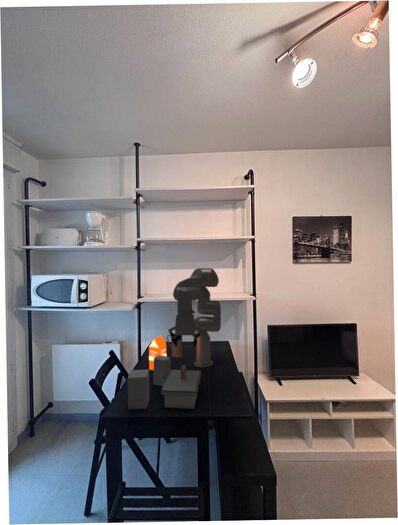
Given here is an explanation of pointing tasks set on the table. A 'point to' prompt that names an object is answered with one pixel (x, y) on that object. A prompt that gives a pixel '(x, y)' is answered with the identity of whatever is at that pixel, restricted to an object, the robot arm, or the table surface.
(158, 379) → the skincare box
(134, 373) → the supplement box
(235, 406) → the table surface
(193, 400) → the parts tub
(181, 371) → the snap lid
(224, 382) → the table surface
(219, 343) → the table surface
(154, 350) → the orange juice
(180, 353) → the brown pitcher
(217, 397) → the table surface
